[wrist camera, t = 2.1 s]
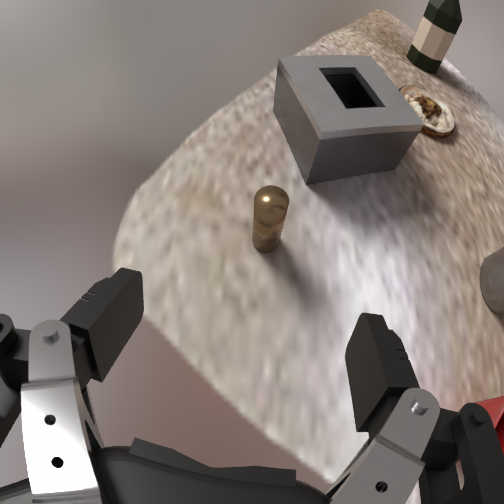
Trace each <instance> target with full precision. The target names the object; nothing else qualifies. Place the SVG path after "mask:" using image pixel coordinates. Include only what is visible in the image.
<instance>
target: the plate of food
mask: <svg viewBox="0 0 504 504" xmlns="http://www.w3.org/2000/svg"><path fill="white" fill-rule="evenodd" d="M399 91H400V92H401V93H402V95H403V96H404V97H405V99H406V100H407V101H408V103H409V104H410V105H411V107H412V108H413V109H414V111H415V112H416V114H417V115H418V116H419V118H420V119H421V121H422V122H423V124H424V125H423V127H422V129H421V130H420V131H421V132H423V133H425V134H428V135H429V136H433V137H437V138H442V139H443V138H446V137H447V136H449V135H450V134H451V132H453V131H454V129H455V120H454V116H453V114H452V112H451V110H450V109H449V107H448V106H447V105H446V104H445V103H444V102H443V101H442V100H440V99H439V98H437V97H436V96H434V95H433V94H431V93H430V92H428V91H426V90H424V89H423V88H421V87H418V86H415V85H407V86H403V87H401V88H400V89H399Z"/></svg>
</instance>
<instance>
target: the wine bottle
mask: <svg viewBox="0 0 504 504" xmlns="http://www.w3.org/2000/svg"><path fill="white" fill-rule="evenodd" d="M461 22H462V15H461V10H460V4H459V0H430V1H429V3H428V6H427V8H426V10H425V13H424V16H423V18H422V21H421V23H420V26H419V28H418V30H417V33H416V35H415V38H414V40H413V43H412V45H411V47H410V50H409V52H408V54H407V58H408V59H409V60H410V61H411V63H412V64H413V65H415V66H416V67H418V68H420V69H422V70H423V71H425V72H429V73H435V74H436V72H437V70H438V68H439V66H440V64H441V62H442V60H443V58H444V56H445V54H446V52H447V50H448V49H449V47H450V44H451V42H452V40H453V38H454V36H455V34H456V32H457V30H458V28H459V26H460V24H461Z"/></svg>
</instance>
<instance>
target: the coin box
mask: <svg viewBox="0 0 504 504" xmlns="http://www.w3.org/2000/svg"><path fill="white" fill-rule="evenodd" d="M345 107H352V109H346V108H345ZM273 111H274V113H275V115H276V117H277V120H278V122H279V124H280V126H281V128H282V130H283V133H284V135H285V137H286V139H287V142H288V144H289V146H290V148H291V151H292V153H293V155H294V158H295V160H296V162H297V165H298V167H299V169H300V172H301V174H302V177H303V179H304V182H305V184H306V185H307V184H312V183H318V182H323V181H328V180H334V179H340V178H345V177H351V176H357V175H363V174H369V173H375V172H381V171H388V170H394V169H395V168H396V166H397V165H398V163H399V162H400V160H401V159H402V157H403V156H404V155H405V153H406V152H407V150H408V149H409V147H410V145H411V144H412V142H413V141H414V139H415V138H416V136H417V135H418V133H419V132H420V130H421V129H422V127H423V125H424V124H423V122H422V121H421V119H420V118H419V116H418V115H417V114H416V112H415V111H414V109H413V108H412V107H411V105H410V104H409V103H408V101H407V100H406V99H405V97H404V96H403V95H402V93H401V92H400V91H399V90H398V88H397V87H396V86H395V85H394V83H393V82H392V81H391V80H390V79H389V77H388V76H387V75H386V74H385V73H384V71H383V70H382V69H381V68H380V67H379V66H378V64H377V63H376V62H375V61H374V60H373V59H372V58H371V57H370V56H352V55H314V56H292V57H279V58H278V66H277V76H276V86H275V96H274V106H273Z"/></svg>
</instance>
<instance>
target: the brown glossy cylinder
mask: <svg viewBox="0 0 504 504" xmlns="http://www.w3.org/2000/svg"><path fill="white" fill-rule="evenodd" d="M288 205H289V197H288V195H287V193H286V192H285V191H284V190H283V189H281V188H280V187H277V186H265V187H262V188H261V189H259V190H258V191H257V193H256V195H255V198H254V217H253V237H252V242H253V245H254V247H255V248H256V249H257V250H258V251H260V252H263V253H269V252H272V251H274V250H275V249H276V248H277V246H278V243H279V240H280V236H281V232H282V228H283V225H284V221H285V217H286V213H287V209H288Z"/></svg>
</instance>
